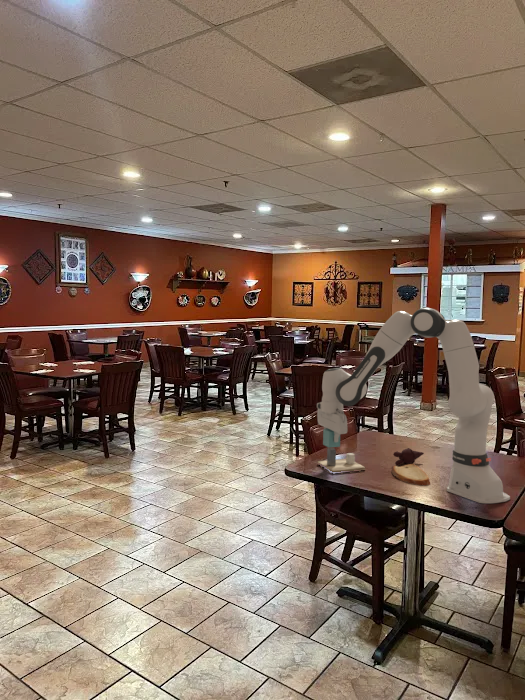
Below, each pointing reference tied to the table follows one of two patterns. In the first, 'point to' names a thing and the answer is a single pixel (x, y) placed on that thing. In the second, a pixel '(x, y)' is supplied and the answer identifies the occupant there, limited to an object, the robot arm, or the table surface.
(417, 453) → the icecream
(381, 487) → the table surface
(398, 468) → the bread slice
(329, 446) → the teal rectangular block
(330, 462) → the tall post
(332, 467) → the board
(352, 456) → the short post
